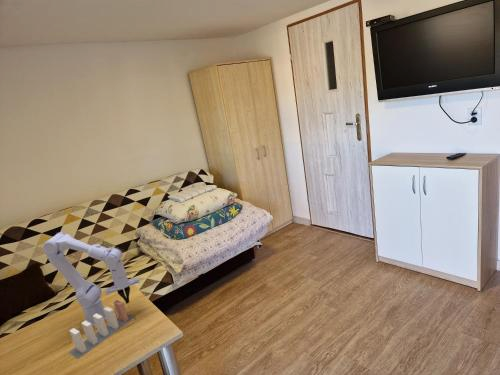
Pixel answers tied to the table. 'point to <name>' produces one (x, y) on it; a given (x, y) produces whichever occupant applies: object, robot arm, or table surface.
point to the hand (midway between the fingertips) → (127, 302)
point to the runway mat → (100, 337)
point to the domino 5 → (121, 310)
